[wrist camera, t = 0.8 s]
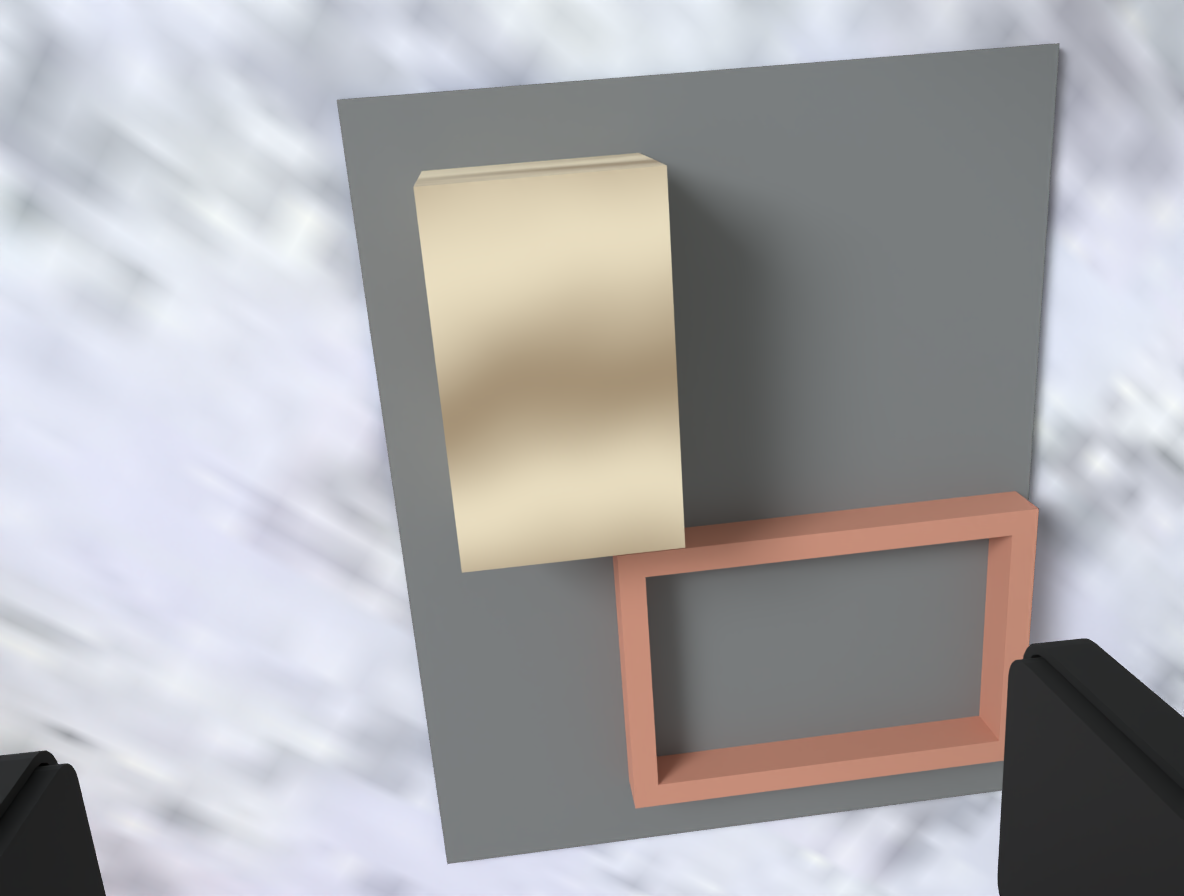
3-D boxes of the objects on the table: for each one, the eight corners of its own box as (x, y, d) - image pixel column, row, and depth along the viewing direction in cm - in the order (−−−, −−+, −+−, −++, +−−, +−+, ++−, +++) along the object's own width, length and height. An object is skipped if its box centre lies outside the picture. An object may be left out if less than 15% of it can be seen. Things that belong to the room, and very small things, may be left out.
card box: (422, 170, 29) (413, 186, 25) (638, 152, 30) (666, 165, 26) (463, 508, 33) (462, 572, 28) (657, 487, 33) (685, 547, 29)
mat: (338, 99, 29) (330, 101, 27) (1051, 44, 30) (1088, 41, 29) (447, 855, 37) (446, 895, 35) (1003, 782, 39) (1028, 816, 37)
